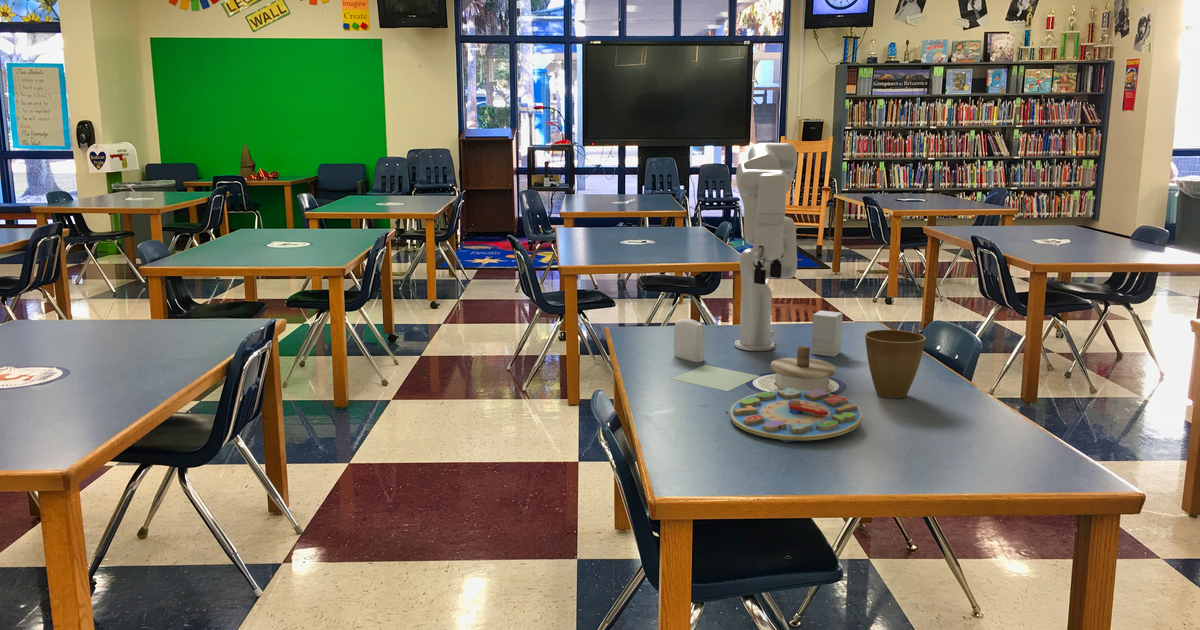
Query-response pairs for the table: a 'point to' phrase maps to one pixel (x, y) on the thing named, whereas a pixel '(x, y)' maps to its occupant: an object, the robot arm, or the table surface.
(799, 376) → the lid
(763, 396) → the shape sorting clock
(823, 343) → the supplement box
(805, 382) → the bowl
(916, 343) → the plant pot
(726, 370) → the mat
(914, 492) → the table surface
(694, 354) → the photo printer
